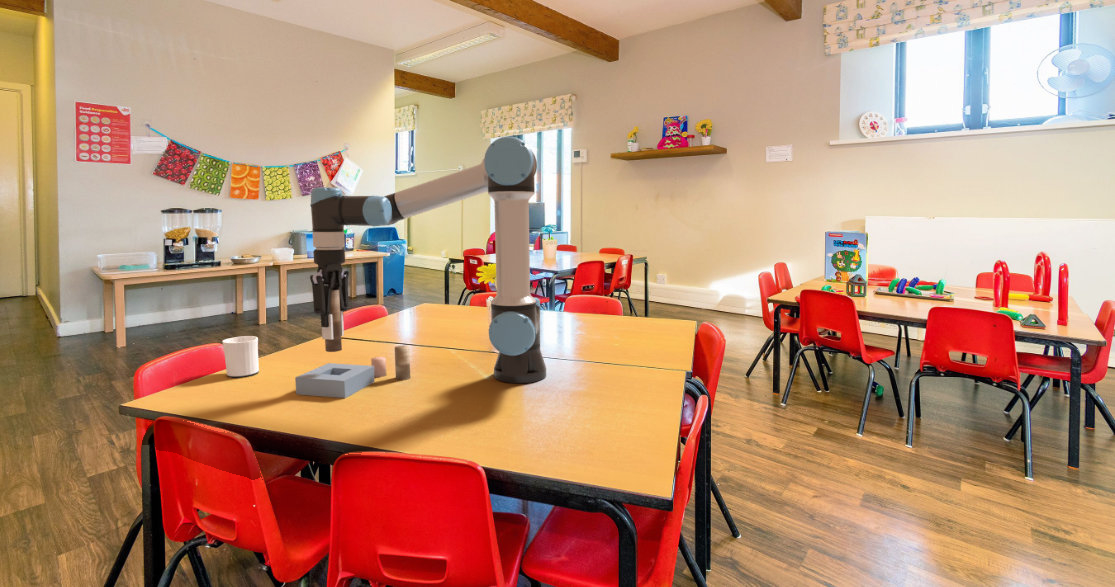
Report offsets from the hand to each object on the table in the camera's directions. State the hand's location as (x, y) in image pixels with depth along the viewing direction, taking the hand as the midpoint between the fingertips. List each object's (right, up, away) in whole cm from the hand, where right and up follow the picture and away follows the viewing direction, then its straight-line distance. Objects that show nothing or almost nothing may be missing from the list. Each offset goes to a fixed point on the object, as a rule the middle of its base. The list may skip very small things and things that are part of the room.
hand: (333, 336), depth 143 cm
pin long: (0, -3, +1) cm, 4 cm away
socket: (0, -14, +2) cm, 14 cm away
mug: (-33, -12, +15) cm, 38 cm away
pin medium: (+15, -13, +11) cm, 23 cm away
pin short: (+8, -12, +14) cm, 20 cm away
